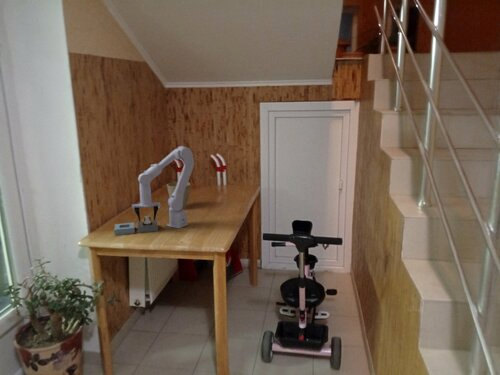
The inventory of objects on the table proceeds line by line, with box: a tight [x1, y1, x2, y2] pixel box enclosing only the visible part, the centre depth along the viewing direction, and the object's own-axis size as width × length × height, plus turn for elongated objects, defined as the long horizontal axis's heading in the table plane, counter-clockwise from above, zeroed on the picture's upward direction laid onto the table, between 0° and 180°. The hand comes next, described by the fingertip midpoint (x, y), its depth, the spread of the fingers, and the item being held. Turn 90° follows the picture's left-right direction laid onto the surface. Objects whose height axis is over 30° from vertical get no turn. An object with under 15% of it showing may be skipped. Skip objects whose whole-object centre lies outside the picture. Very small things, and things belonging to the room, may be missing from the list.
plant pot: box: [166, 181, 191, 210], centre depth 253 cm, size 15×15×16 cm
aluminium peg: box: [143, 215, 152, 226], centre depth 212 cm, size 4×4×7 cm
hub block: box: [113, 222, 136, 236], centre depth 209 cm, size 10×10×3 cm
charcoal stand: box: [137, 219, 159, 234], centre depth 213 cm, size 10×10×3 cm
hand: (147, 220), depth 212 cm, fingers open, 7 cm apart
